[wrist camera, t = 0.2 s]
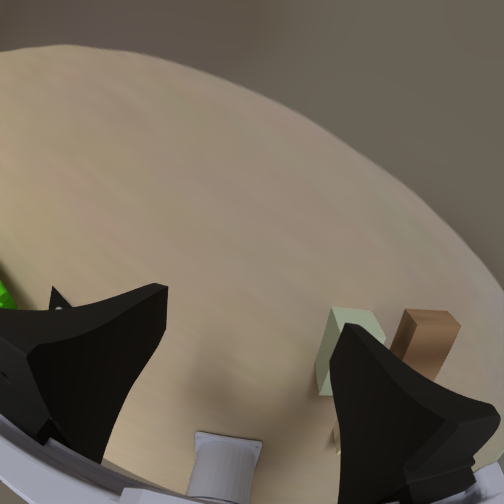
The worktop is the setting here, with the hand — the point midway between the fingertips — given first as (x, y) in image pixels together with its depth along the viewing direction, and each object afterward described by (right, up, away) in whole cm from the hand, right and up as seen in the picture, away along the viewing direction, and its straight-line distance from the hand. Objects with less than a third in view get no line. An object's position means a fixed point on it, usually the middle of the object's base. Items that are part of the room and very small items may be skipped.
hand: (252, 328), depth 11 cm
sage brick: (+8, -4, +11) cm, 14 cm away
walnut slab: (+15, -5, +11) cm, 19 cm away
